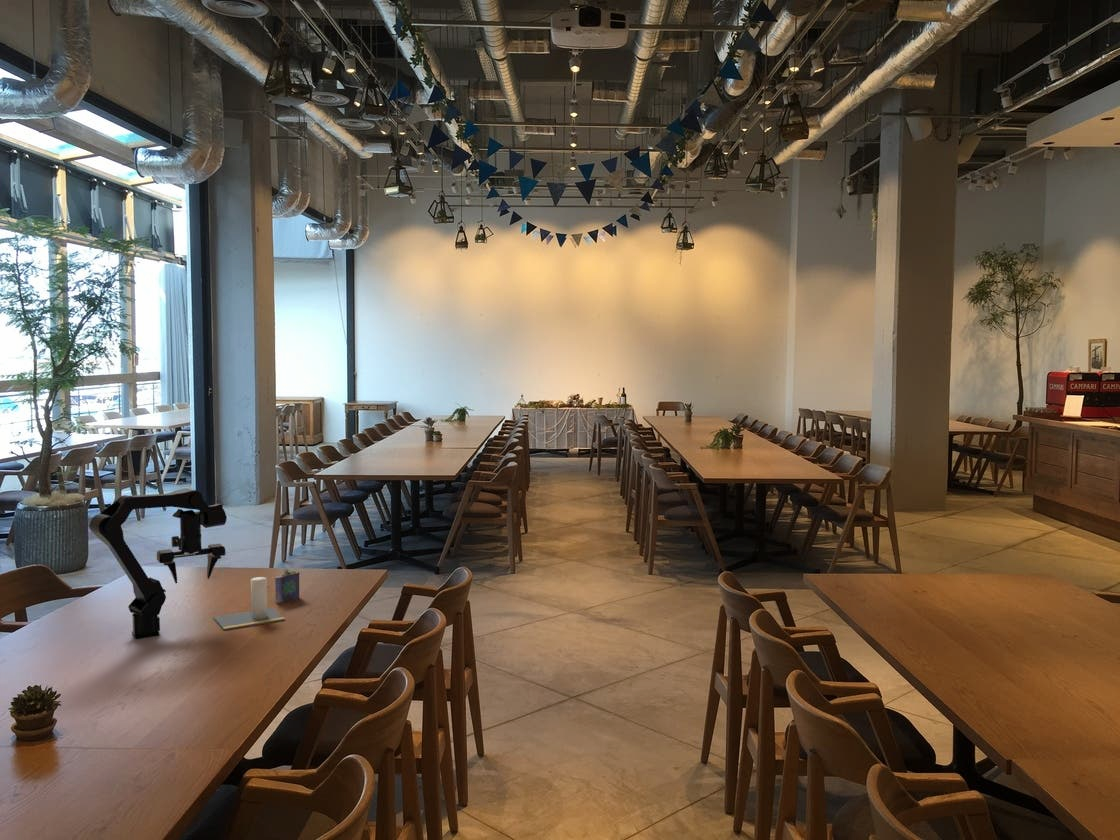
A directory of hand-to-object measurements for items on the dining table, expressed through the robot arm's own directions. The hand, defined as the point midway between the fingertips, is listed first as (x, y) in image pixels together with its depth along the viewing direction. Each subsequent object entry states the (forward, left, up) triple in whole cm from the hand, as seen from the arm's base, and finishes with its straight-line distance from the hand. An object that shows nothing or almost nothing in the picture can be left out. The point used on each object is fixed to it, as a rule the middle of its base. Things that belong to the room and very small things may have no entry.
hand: (192, 580), depth 265 cm
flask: (+31, +8, -13) cm, 35 cm away
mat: (+15, -6, -13) cm, 21 cm away
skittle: (+18, -7, -12) cm, 23 cm away
